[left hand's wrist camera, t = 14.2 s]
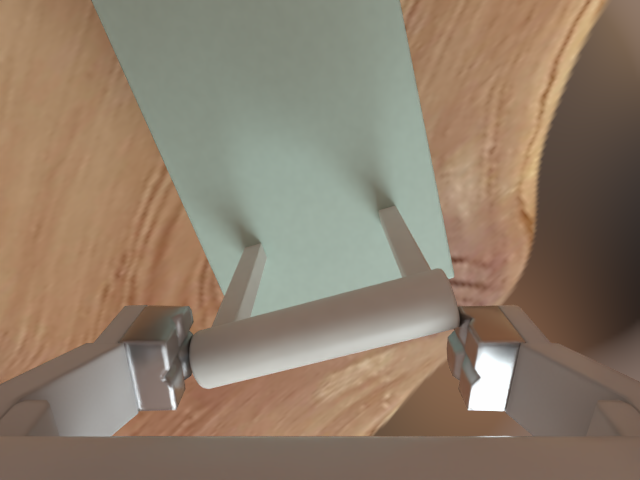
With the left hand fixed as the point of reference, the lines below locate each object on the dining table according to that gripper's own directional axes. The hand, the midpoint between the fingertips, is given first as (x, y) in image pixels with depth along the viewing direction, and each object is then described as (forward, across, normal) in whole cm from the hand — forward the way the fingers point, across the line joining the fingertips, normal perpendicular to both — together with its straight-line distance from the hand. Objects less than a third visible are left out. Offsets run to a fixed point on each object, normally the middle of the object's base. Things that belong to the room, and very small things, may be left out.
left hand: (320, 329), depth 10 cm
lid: (+7, +1, -4) cm, 8 cm away
